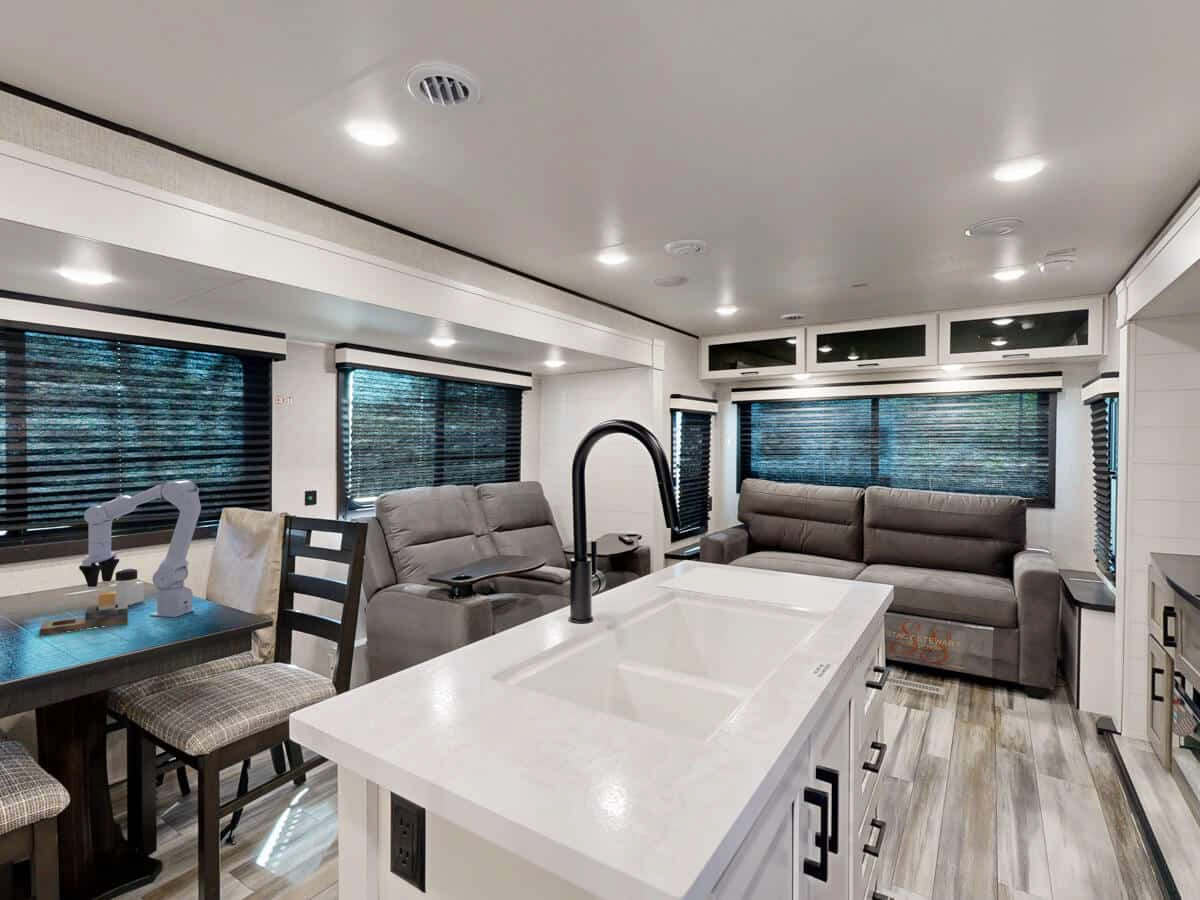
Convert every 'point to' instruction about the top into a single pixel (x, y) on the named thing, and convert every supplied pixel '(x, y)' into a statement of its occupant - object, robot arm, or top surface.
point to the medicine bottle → (127, 587)
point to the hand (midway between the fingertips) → (99, 583)
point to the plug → (107, 600)
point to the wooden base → (88, 620)
